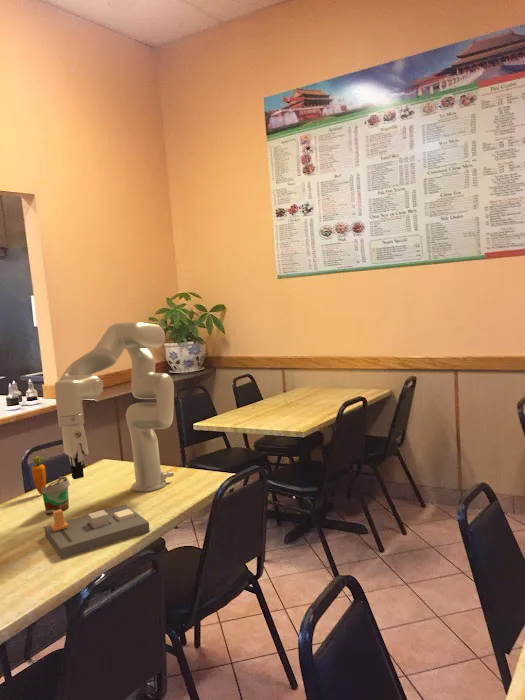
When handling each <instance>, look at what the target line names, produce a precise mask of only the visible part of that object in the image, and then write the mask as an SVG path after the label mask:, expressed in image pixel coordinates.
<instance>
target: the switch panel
mask: <svg viewBox="0 0 525 700" xmlns="http://www.w3.org/2000/svg"><path fill="white" fill-rule="evenodd" d="M126 509H130V510H131V511H132V512H134V516H135V517H133V518H130V519H127V520H123V521H120V522H118V521H117V520H116V519H115V516H114V513H115V512H119V511H123V510H126ZM103 510H104V511H105V512H106V513H108V516H109V525H106V526H102V527H99V528H96V529H91V528H90V527H89V519H88V514H86V515H83V516H79V517H75V518H72V519H68V520H64V522H65V521H66V523H67V524H68V525H69V527H68V528H65V529H61V530H58V531H53V530H52V529H51V525H54V523H52V524H50V525H46V526H43V528H44V536H45V538H46V539H47V541H48V542H49V544H50V545H51V546H52V547H53V549H54V550H55V552H56V553H57V554H58V556H59V557H60V559H61V560H63V559H66V558H69V557H72V556H75V555H78V554H81V553H85V552H86V553H87V552H89V551H91V550H95V549H98V548H101V547H104V546H108V545H110V544H114V543H117V542H120V541H121V542H122V541H123V540H126V539H127V540H128V539H131V538H134V537H137V536H140V535H143V534H147V533H150V523H149V521H148V520H146V519H145V518H144V517H143V516H141V514H139V513H138V512H136V511H135V509H133V508H131V507H130V506H128V505H127V504H123V505H118V506H115V507H111V508H108V509H103Z"/></svg>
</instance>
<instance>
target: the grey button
mask: <svg viewBox="0 0 525 700" xmlns="http://www.w3.org/2000/svg"><path fill="white" fill-rule="evenodd" d="M104 510H105V509H101V510H97V511H95V512H89V513H87V515H88V519H89V527H90V528H91V529H96V528H99V527H102V526H106V525H109V516H108V513H106V512H105V511H104Z"/></svg>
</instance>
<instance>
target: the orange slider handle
mask: <svg viewBox="0 0 525 700" xmlns="http://www.w3.org/2000/svg"><path fill="white" fill-rule="evenodd" d="M52 517H53V521H54V522H53V524H54V525H53V524H50V525H51V529H52V530H53V531H58V530H61V529H65V528H68V527H69V525H68V524H67V523H66V521H67V520H64V512H63V511H62V510H61V509H59V510H56V511H53V516H52ZM64 521H65V522H64Z"/></svg>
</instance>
